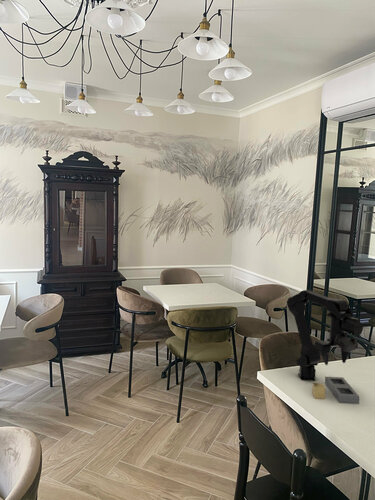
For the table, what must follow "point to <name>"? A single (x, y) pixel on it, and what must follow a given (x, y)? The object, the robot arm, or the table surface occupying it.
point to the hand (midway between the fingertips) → (335, 363)
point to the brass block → (318, 391)
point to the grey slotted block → (341, 390)
